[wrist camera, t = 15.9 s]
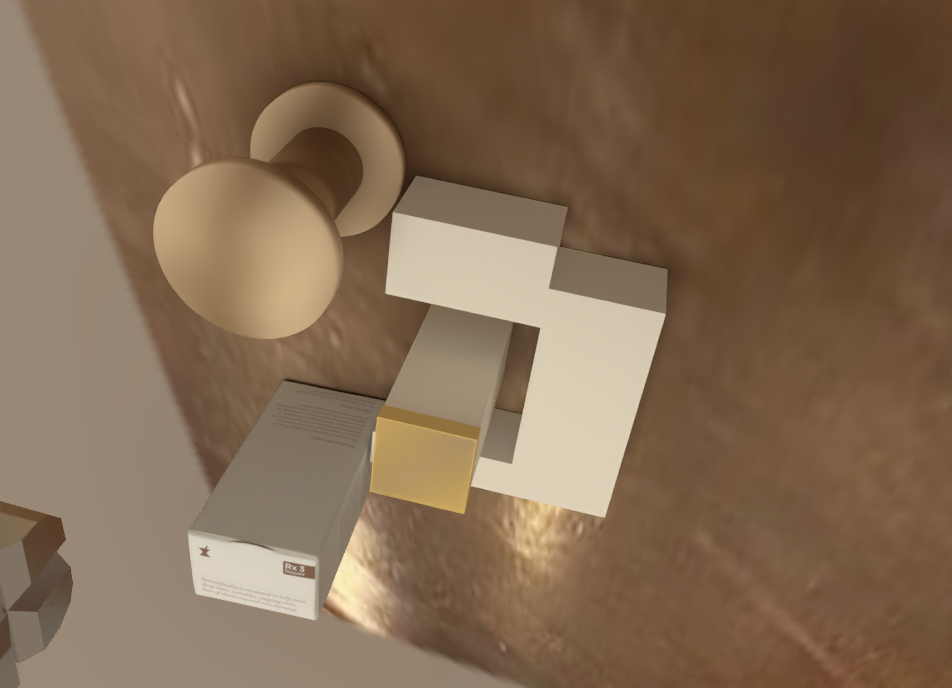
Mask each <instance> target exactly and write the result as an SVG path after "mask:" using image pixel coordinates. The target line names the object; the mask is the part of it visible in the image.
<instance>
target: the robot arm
mask: <svg viewBox="0 0 952 688" xmlns="http://www.w3.org/2000/svg"><path fill="white" fill-rule="evenodd" d="M65 540H66V538H65V534H64V530H63V525H62V521H61V518H58V517H55V516H51V515H47V514H44V513H40V512H37V511H33V510H29V509H26V508H22V507H19V506H15V505H12V504H8V503H5V502H1V501H0V688H17V687H18V686H19V685H20V672H19V663H20V662H22V661H24V660H26V659H28V658H30V657H32V656H34V655H35V654H37V653H39V652H41V651H43V650H45V649H46V647H47V646H48V644H49V643H50V641H51V640H52V638H53V637H54V635H55V634H56V633H57V631H58V630H59V628H60V626H61V624H62V621H63V619H64V616H65V614H66V612H67V609H68V607H69V604H70V601H71V594H72V593H71V592H72V585H73V581H72V575H71V567H70V566H69V565H68V564H67V563H66V562H65V560H64V559H63V558H62V557H61V556H60V555H59V554H58V553H57V550H58V549H59V548H60V546H61V545H62V544H63V542H64V541H65Z"/></svg>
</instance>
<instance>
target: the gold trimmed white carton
mask: <svg viewBox="0 0 952 688" xmlns="http://www.w3.org/2000/svg"><path fill="white" fill-rule="evenodd" d="M513 324H514V322H512V321H508V320H503V319H499V318H494V317H490V316H485V315H480V314H476V313H471V312H467V311H462V310H458V309H453V308H449V307H444V306H440V305H435V304H431V306H430V308H429V310H428V313H427V315H426V317H425V319H424V321H423V323H422V325H421V328H420V330H419V332H418V334H417V336H416V338H415V340H414V342H413V345H412V347H411V349H410V351H409V353H408V355H407V357H406V360H405V362H404V364H403V366H402V368H401V370H400V372H399V374H398V377H397V379H396V381H395V383H394V385H393V387H392V389H391V391H390V394H389V396H388V398H387V400H386V402H385V404H384V405H382V407H381V409H380V411H379V413H378V416H377V422H376V433H375V443H374V454H373V464H372V475H371V485H370V491H371V492H375V493H379V494H383V495H387V496H391V497H396V498H400V499H404V500H408V501H412V502H416V503H420V504H424V505H429V506H433V507H437V508H441V509H445V510H449V511H453V512H457V513H462V514H464V512H465V509H466V505H467V502H468V497H469V491H470V488H471V484H472V481H473V477H474V474H475V471H476V467H477V464H478V461H479V457H480V454H481V451H482V447H483V444H484V441H485V437H486V434H487V430H488V427H489V424H490V420H491V417H492V414H493V410H494V407H495V404H496V400H497V397H498V394H499V390H500V387H501V384H502V380H503V376H504V371H505V366H506V360H507V355H508V350H509V345H510V339H511V334H512V329H513Z"/></svg>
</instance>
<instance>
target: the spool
mask: <svg viewBox="0 0 952 688" xmlns="http://www.w3.org/2000/svg"><path fill="white" fill-rule="evenodd" d="M250 155H251V158H246V157H223V158H217V159H213V160H210V161H207V162H204V163H202V164H200V165H198V166H196V167H195V168H193V169H192V170H190V171H189V172H188V173H186V174H185V175H184V176H183V177H182V178H181V179H179V180H178V181H177V182H176V183H175V184H174V185H173V186H172V187H171V188H169V190H168V191H167V192H166V194H165V195H164V196H163V198H162V200H161V202H160V204H159V206H158V208H157V212H156V215H155V220H154V227H153V234H154V245H155V250H156V254H157V258H158V261H159V263H160V266H161V268H162V271H163V272H164V274H165V276H166V278H167V280H168V282H169V283H170V284H171V286H172V287H173V289H174V290H175V292H176V293H177V294H178V295H179V296H180V297H181V299H182V300H183V301H184V302H185V303H186V304H187V305H188V306H189V307H190V308H191V309H193V310H194V311H195V312H196V313H198V314H199V315H200V316H201V317H203V318H204V319H206V320H208V321H209V322H211V323H212V324H214V325H216V326H218V327H220V328H222V329H224V330H227V331H229V332H232V333H235V334H238V335H242V336H246V337H252V338H261V339H272V338H281V337H286V336H290V335H293V334H296V333H298V332H300V331H302V330H304V329H306V328H307V327H309V326H310V325H311V324H313V323H314V322H315V321H316V320H317V319H318V318H319V317H320V316H321V315H322V314H323V312H324V311H325V309H326V308H327V306H328V305H329V303H330V302H331V300H332V299H333V297H334V296H335V294H336V292H337V290H338V288H339V286H340V282H341V279H342V276H343V268H344V252H343V246H342V241H341V238H340V237H344V236H352V235H356V234H359V233H362V232H365V231H367V230H369V229H370V228H372V227H374V226H375V225H377V224H378V223H379V222H380V221H381V220H382V219H383V218H384V217H385V216H386V215H387V214H388V212H389V211H390V210H391V208H392V207H393V205H394V204H395V202H396V201H397V199H398V197H399V195H400V193H401V191H402V188H403V185H404V181H405V175H406V159H405V152H404V148H403V144H402V141H401V138H400V136H399V134H398V132H397V130H396V128H395V126H394V124H393V123H392V121H391V120H390V118H389V117H388V116H387V115H386V113H385V112H384V111H383V110H382V109H381V108H380V107H379V106H378V105H377V104H376V103H375V102H374V101H372V100H371V99H370V98H368V97H367V96H366V95H364V94H362V93H360V92H359V91H357V90H355V89H353V88H350V87H348V86H345V85H341V84H338V83H333V82H309V83H304V84H300V85H297V86H295V87H293V88H291V89H288V90H287V91H285V92H284V93H283V94H281V95H280V96H279V97H277V98H276V99H275V100H274V101H273V102H272V103H270V104H269V105H268V106H267V107H266V108H265V110H264V111H263V112H262V113H261V115H260V116H259V118H258V120H257V122H256V124H255V127H254V129H253V132H252V137H251V145H250Z"/></svg>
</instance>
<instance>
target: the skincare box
mask: <svg viewBox="0 0 952 688" xmlns="http://www.w3.org/2000/svg"><path fill="white" fill-rule="evenodd" d="M384 404H385V401H383V400H379V399H373V398H368V397H363V396H358V395H353V394H348V393H343V392H338V391H333V390H328V389H323V388H318V387H313V386H308V385H303V384H298V383H293V382H288V381H282V382H281V384H280V385H279V387H278V389H277V390H276V392H275V394H274V395H273V397H272V398H271V400H270V402H269V403H268V405H267V406H266V408H265V409H264V411H263V413H262V414H261V416H260V417H259V419H258V421H257V422H256V424H255V425H254V427H253V428H252V430H251V432H250V433H249V435H248V436H247V438H246V440H245V441H244V443H243V444H242V446H241V447H240V449H239V450H238V452H237V454H236V455H235V457H234V458H233V460H232V462H231V463H230V465H229V466H228V468H227V470H226V471H225V473H224V474H223V476H222V477H221V479H220V481H219V482H218V484H217V486H216V487H215V489H214V490H213V492H212V494H211V495H210V497H209V499H208V500H207V502H206V504H205V505H204V507H203V509H202V510H201V512H200V514H199V515H198V516H197V518H196V519H195V521H194V523H193V524H192V525H191V527H190V528H189V530H188V539H189V550H190V557H191V566H192V575H193V583H194V588H195V593H196V594H199V595H203V596H208V597H213V598H218V599H223V600H226V601H231V602H235V603H240V604H245V605H249V606H254V607H258V608H263V609H267V610H272V611H276V612H281V613H285V614H290V615H294V616H299V617H303V618H308V619H311V620H316V619H317V618H318V617H319V615H320V612H321V610H322V608H323V605H324V603H325V600H326V598H327V595H328V593H329V591H330V588H331V586H332V583H333V580H334V578H335V575H336V572H337V570H338V567H339V565H340V563H341V560H342V558H343V555H344V553H345V550H346V548H347V545H348V543H349V540H350V538H351V535H352V533H353V530H354V528H355V526H356V523H357V521H358V518H359V516H360V513H361V511H362V509H363V506H364V504H365V501H366V499H367V496H368V494H369V491H370V485H371V475H372V464H373V463H372V462H370V457H371V446H372V435H373V430H374V428H375V426H376V422H377V416H378V413H379V411H380V409H381V407H382V405H384Z"/></svg>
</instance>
